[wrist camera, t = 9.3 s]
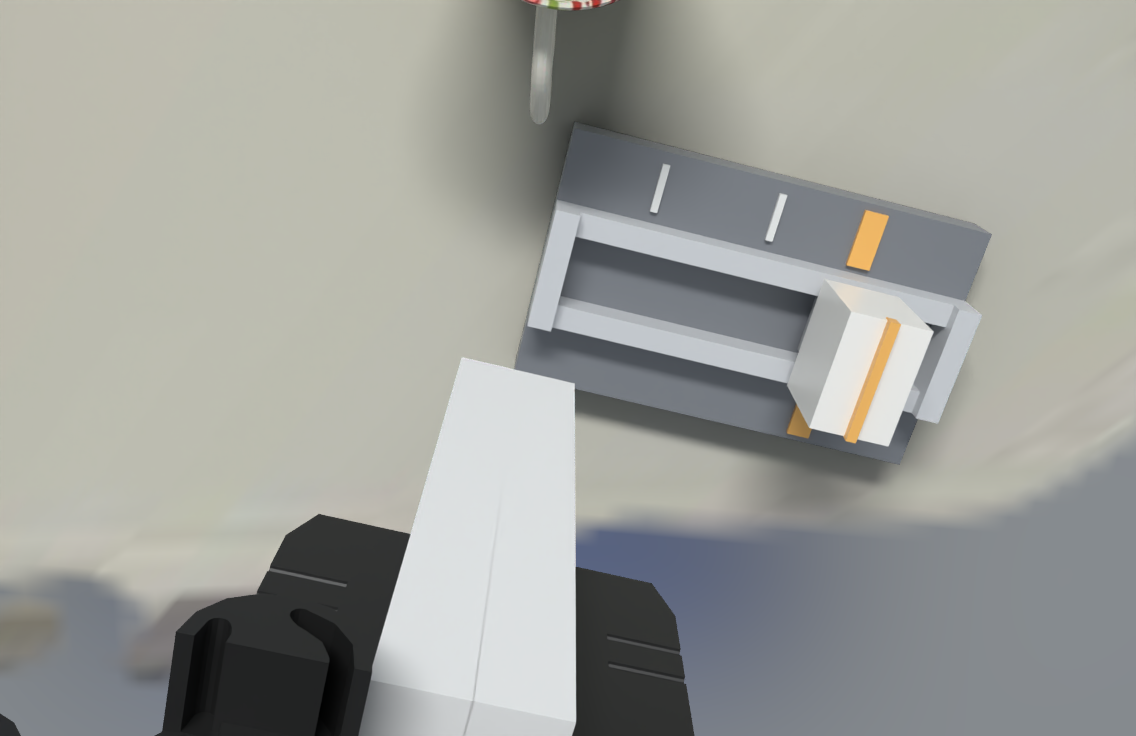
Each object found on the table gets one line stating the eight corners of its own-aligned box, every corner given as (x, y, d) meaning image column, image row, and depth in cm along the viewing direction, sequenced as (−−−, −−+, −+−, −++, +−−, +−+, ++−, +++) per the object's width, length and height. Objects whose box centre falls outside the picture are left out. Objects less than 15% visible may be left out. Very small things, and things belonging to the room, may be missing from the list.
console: (515, 358, 48) (510, 391, 44) (574, 121, 44) (574, 135, 40) (886, 446, 49) (912, 484, 46) (974, 223, 45) (1010, 246, 42)
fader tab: (779, 373, 45) (810, 432, 39) (815, 267, 44) (854, 313, 38) (849, 389, 46) (890, 451, 40) (888, 285, 44) (937, 333, 38)
